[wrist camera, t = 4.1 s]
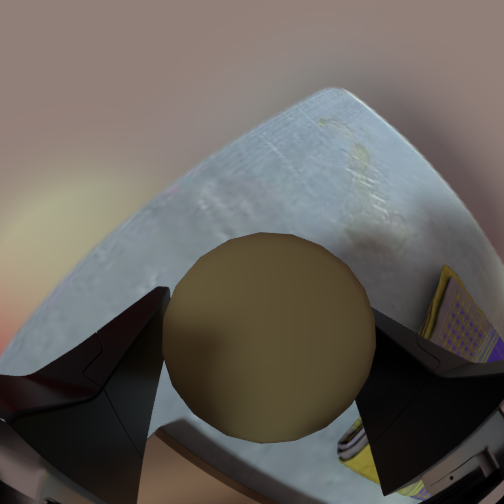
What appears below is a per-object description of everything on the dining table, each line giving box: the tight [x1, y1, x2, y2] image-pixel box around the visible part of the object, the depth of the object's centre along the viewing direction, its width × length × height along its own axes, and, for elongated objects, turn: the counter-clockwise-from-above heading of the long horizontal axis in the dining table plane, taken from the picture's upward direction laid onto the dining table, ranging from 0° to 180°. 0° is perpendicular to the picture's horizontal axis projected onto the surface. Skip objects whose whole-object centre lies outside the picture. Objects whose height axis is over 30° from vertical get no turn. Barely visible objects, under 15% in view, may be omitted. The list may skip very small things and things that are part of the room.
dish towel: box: [337, 265, 504, 501], centre depth 14 cm, size 18×24×3 cm
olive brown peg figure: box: [162, 232, 376, 444], centre depth 10 cm, size 6×6×11 cm
